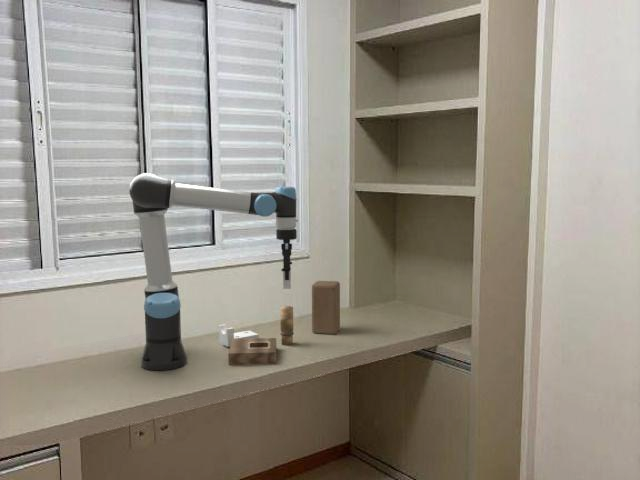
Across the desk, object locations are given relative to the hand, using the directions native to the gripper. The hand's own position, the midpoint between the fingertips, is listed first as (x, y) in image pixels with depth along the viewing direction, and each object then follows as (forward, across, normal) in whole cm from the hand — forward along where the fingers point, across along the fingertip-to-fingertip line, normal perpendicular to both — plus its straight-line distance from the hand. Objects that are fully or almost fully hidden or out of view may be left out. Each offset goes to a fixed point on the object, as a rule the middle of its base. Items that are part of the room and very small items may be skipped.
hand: (287, 285), depth 233 cm
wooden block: (+23, +17, -16) cm, 33 cm away
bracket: (+23, +2, +18) cm, 30 cm away
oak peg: (+23, 0, 0) cm, 23 cm away
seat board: (+23, -15, +12) cm, 30 cm away
